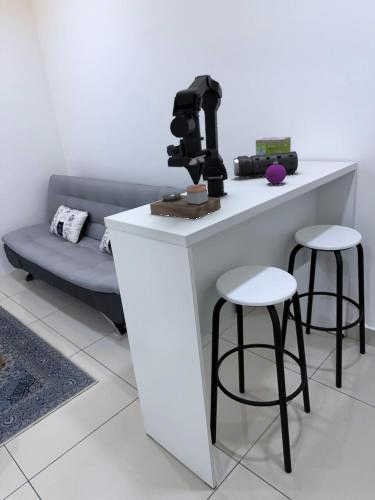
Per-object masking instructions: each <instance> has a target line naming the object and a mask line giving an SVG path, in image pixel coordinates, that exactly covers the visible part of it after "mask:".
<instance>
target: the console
mask: <svg viewBox="0 0 375 500" xmlns="http://www.w3.org/2000/svg"><path fill="white" fill-rule="evenodd" d="M180 196H181V200H178V201H176V202H173V203H170V202H162V200H163V199H160V200H158V201H155V202H152V203H149V206H150V207H149V208H150V214H151V213H155V214H154V215H157V214H162V215H161V216H163V215H169V216H168V217H170V216H176V217H175V218H177V217H182V218H181V219H183V218H189V219H188V220H190V219H196V218H199V217H201V216H203V217H205V216H207V215H206V214H208V213H210V214H212V213H214V212H216V211H218V209H219V210H221V209H222V208H221V207H222V204H221V197H208V201H206V202H203V203H201V204H192V203H188V201H187V194H186V195H185V194H180ZM220 208H221V209H220ZM211 212H212V213H211ZM204 215H205V216H204ZM208 215H209V214H208ZM201 218H202V217H201ZM199 219H200V218H199ZM196 220H197V219H196Z"/></svg>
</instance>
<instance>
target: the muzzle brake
mask: <svg viewBox="0 0 375 500" xmlns="http://www.w3.org/2000/svg"><path fill="white" fill-rule="evenodd" d="M274 160H275V162H278V165H282V166H283V167H284V168H285V170H286V175H288V174H295V173H296V172H297V170H298V167H299V158H298V153H297V151H295V150H293V151H292V150H291V152H285V153H273V154H266V155H256V154H255V155H250V156H248V155H240V156H237V157H234V158H233V175H234V177H238V178H246V177H247V178H248V179H251V178H253V179H255V178H256V177H257V176H258V177H259V176H266V171H267V169H268V167H270V166H271V165H274V164H273V162H274ZM276 160H277V161H276Z"/></svg>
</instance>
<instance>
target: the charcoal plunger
mask: <svg viewBox="0 0 375 500" xmlns="http://www.w3.org/2000/svg"><path fill="white" fill-rule="evenodd" d="M180 195H181V193H180V192H178V191H177V192H176V191H175V192H173V191H172V192H166V193H164V194H162V195H161V196H162V199H161V200H162V202H170V203H173V202H176V201H178V200H181V196H180Z"/></svg>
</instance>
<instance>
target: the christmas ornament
mask: <svg viewBox="0 0 375 500" xmlns="http://www.w3.org/2000/svg"><path fill="white" fill-rule="evenodd" d="M276 161H277V160H276ZM273 164H274V165H271V166H270V167H268V169H267V171H266V175H265V178H266V180H267V181H268V183H269V184H272V185H278V184H282V182H284V180H285V179H286V177H287V174H286V170H285V168H284V167H283V166H282V165H278V162H275V160H274V162H273Z"/></svg>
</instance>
